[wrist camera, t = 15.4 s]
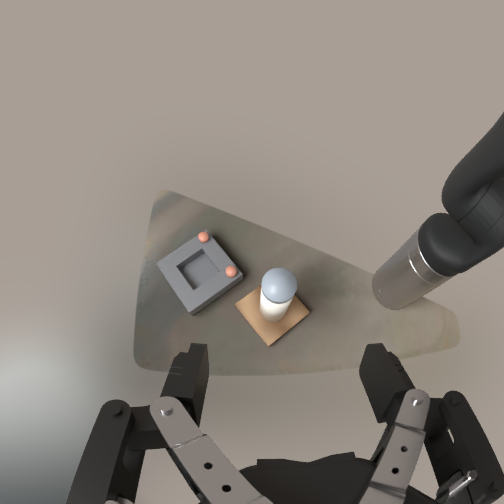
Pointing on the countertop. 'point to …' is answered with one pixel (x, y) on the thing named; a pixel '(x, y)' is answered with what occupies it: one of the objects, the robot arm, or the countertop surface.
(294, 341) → the countertop surface
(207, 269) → the block
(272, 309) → the ball
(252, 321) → the pad
